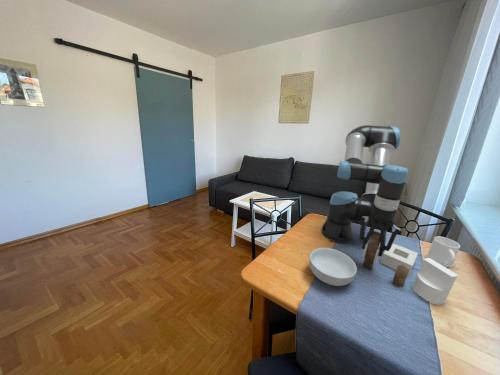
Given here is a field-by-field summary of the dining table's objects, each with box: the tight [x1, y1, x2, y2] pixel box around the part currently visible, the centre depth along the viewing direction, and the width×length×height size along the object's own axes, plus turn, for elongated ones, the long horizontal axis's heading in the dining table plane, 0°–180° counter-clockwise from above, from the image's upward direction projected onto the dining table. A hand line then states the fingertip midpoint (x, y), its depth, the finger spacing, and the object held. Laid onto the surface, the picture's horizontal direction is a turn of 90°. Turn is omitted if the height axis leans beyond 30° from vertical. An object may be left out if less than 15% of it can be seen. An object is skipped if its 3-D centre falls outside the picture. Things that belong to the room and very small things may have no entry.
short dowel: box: [391, 265, 409, 288], centre depth 75 cm, size 4×4×7 cm
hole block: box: [380, 242, 419, 277], centre depth 87 cm, size 10×12×5 cm
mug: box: [426, 235, 461, 268], centre depth 87 cm, size 12×8×10 cm
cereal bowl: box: [308, 247, 358, 287], centre depth 78 cm, size 17×17×7 cm
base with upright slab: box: [412, 257, 459, 305], centre depth 71 cm, size 9×9×12 cm
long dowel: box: [362, 230, 381, 271], centre depth 82 cm, size 4×4×16 cm
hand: (369, 258), depth 83 cm, fingers closed on long dowel, 3 cm apart
